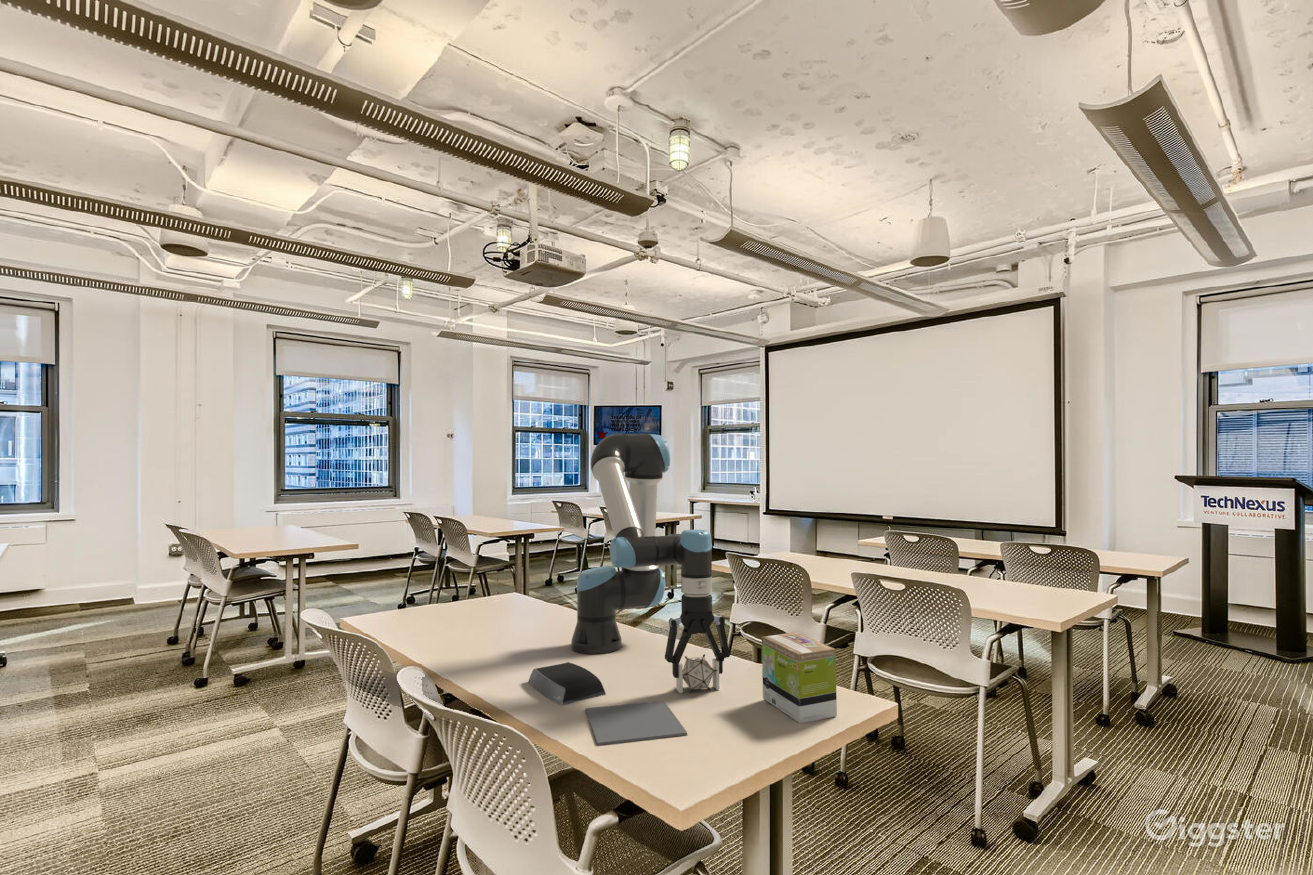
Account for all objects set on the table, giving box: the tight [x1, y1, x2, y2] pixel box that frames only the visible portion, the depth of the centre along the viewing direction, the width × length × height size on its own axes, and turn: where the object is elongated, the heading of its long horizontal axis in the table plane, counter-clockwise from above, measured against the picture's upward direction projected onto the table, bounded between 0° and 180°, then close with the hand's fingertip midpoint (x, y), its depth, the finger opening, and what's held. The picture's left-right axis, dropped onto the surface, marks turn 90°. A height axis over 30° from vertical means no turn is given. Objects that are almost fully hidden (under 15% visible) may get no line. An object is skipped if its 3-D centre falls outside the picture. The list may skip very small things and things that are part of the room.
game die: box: [682, 653, 717, 694], centre depth 149 cm, size 9×8×10 cm
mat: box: [584, 700, 688, 746], centre depth 129 cm, size 18×18×1 cm
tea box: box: [761, 631, 838, 724], centre depth 137 cm, size 15×10×15 cm, turn 22°
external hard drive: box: [528, 661, 607, 706], centre depth 150 cm, size 13×19×4 cm
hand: (697, 689), depth 148 cm, fingers open, 8 cm apart
